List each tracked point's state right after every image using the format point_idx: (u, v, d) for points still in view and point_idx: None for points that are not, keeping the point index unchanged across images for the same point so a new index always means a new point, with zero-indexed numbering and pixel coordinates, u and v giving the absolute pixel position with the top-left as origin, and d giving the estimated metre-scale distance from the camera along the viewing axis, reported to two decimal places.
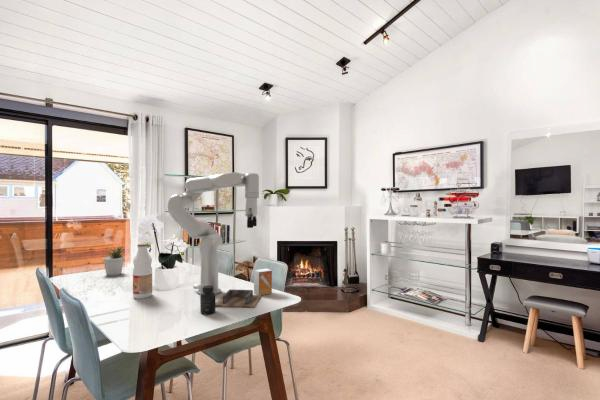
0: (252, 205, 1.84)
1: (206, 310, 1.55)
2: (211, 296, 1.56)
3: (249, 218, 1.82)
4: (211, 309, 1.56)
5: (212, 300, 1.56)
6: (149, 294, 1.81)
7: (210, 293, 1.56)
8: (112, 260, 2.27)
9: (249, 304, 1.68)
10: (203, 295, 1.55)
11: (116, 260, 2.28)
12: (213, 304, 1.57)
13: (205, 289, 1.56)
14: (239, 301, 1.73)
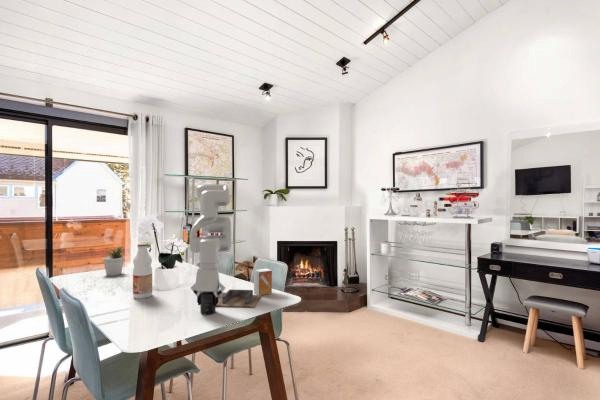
0: (218, 276, 1.59)
1: (206, 310, 1.55)
2: (211, 296, 1.56)
3: (220, 293, 1.58)
4: (211, 309, 1.56)
5: (212, 300, 1.56)
6: (149, 294, 1.81)
7: (210, 293, 1.56)
8: (112, 260, 2.27)
9: (249, 304, 1.68)
10: (203, 295, 1.55)
11: (116, 260, 2.28)
12: (213, 304, 1.57)
13: None
14: (239, 301, 1.73)
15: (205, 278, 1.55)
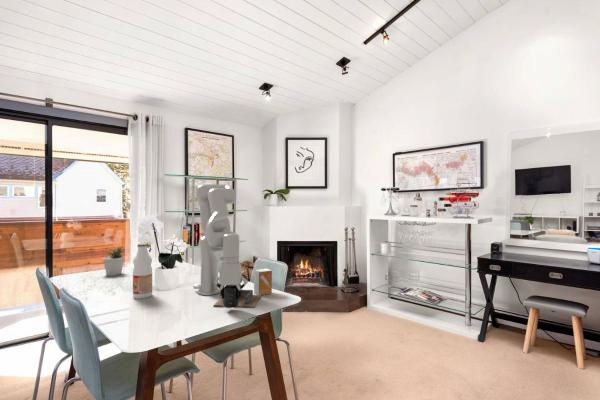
0: (241, 270, 1.62)
1: (230, 303, 1.58)
2: (234, 290, 1.58)
3: None
4: (235, 302, 1.59)
5: (235, 293, 1.59)
6: (149, 294, 1.81)
7: (233, 287, 1.59)
8: (112, 260, 2.27)
9: (249, 304, 1.68)
10: (226, 289, 1.58)
11: (116, 260, 2.28)
12: (236, 297, 1.59)
13: None
14: (239, 301, 1.73)
15: (228, 272, 1.58)
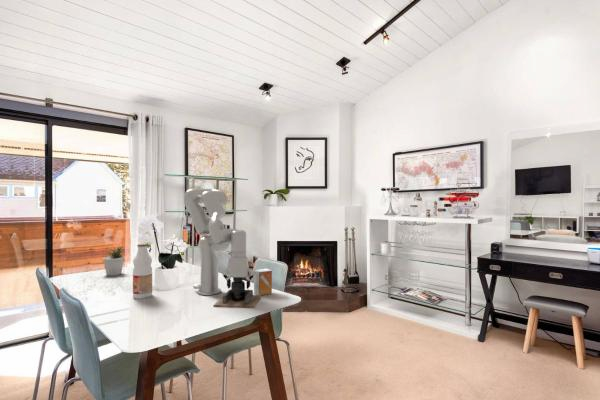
0: None
1: (237, 297, 1.72)
2: (241, 284, 1.73)
3: (251, 278, 1.75)
4: (242, 296, 1.73)
5: (242, 288, 1.73)
6: (149, 294, 1.81)
7: (240, 282, 1.73)
8: (112, 260, 2.27)
9: (249, 304, 1.68)
10: (234, 284, 1.72)
11: (116, 260, 2.28)
12: (243, 292, 1.74)
13: (236, 278, 1.73)
14: (239, 301, 1.73)
15: (236, 265, 1.72)
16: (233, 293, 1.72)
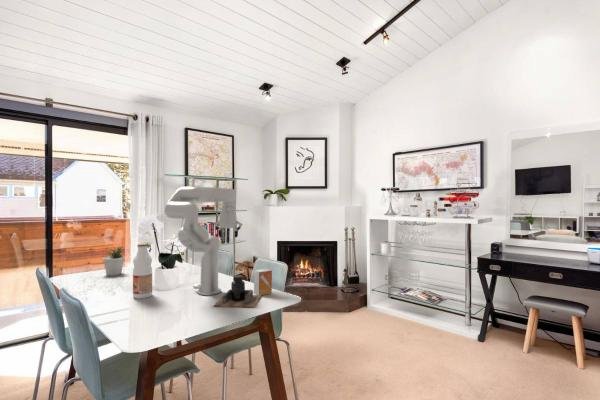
0: None
1: (237, 297, 1.72)
2: (241, 284, 1.73)
3: None
4: (242, 296, 1.73)
5: (242, 288, 1.73)
6: (149, 294, 1.81)
7: (240, 282, 1.73)
8: (112, 260, 2.27)
9: (249, 304, 1.68)
10: (234, 284, 1.72)
11: (116, 260, 2.28)
12: (243, 292, 1.74)
13: (236, 278, 1.73)
14: (239, 301, 1.73)
15: (226, 217, 2.07)
16: (233, 293, 1.72)
